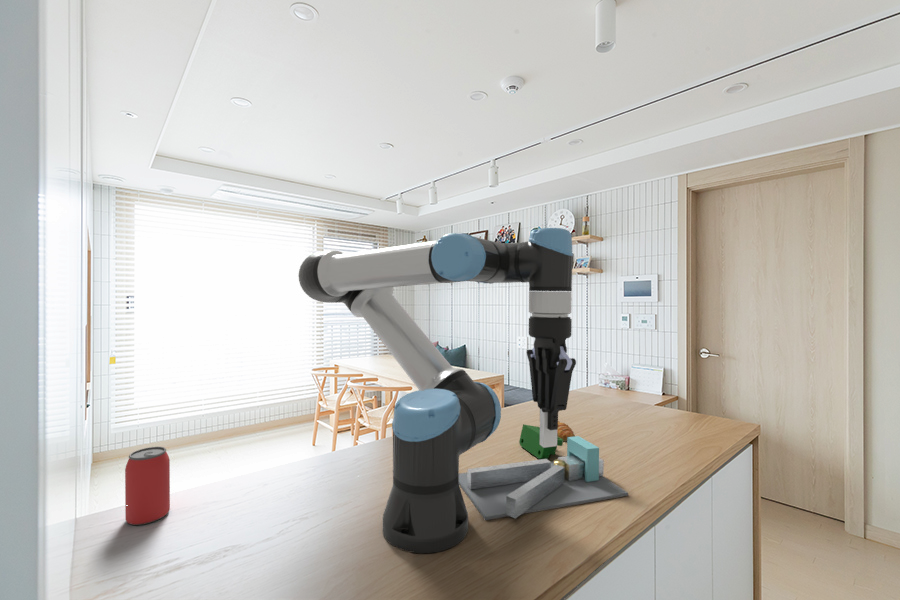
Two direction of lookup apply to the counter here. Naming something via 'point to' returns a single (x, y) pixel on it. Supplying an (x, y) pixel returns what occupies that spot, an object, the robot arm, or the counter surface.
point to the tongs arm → (534, 491)
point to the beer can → (147, 485)
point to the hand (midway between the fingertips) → (548, 445)
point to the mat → (568, 494)
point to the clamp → (536, 442)
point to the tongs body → (526, 471)
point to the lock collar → (585, 456)
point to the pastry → (564, 431)
